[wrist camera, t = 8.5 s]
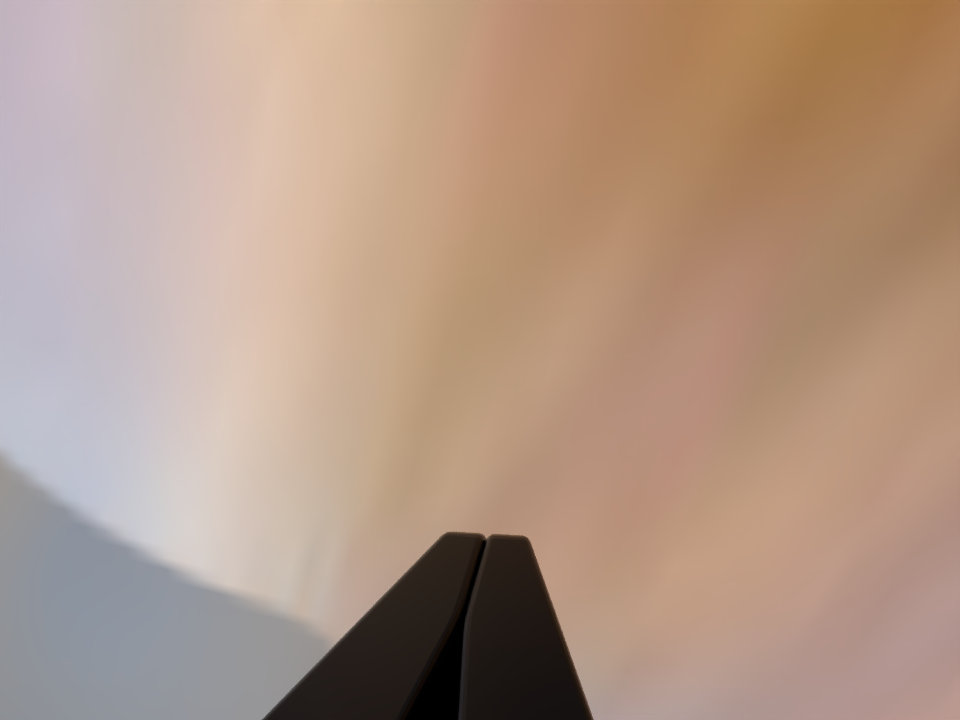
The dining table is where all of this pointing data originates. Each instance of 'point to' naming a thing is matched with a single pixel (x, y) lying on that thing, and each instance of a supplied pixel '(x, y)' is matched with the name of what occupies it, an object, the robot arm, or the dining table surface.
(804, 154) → the dining table surface
